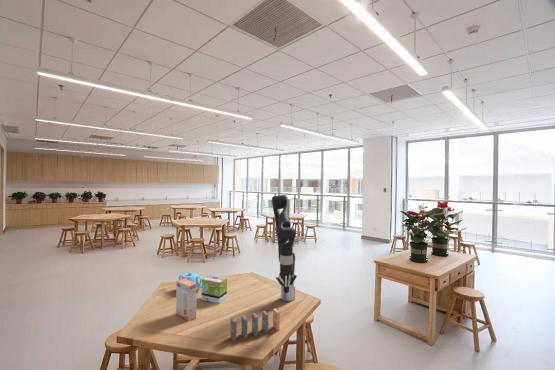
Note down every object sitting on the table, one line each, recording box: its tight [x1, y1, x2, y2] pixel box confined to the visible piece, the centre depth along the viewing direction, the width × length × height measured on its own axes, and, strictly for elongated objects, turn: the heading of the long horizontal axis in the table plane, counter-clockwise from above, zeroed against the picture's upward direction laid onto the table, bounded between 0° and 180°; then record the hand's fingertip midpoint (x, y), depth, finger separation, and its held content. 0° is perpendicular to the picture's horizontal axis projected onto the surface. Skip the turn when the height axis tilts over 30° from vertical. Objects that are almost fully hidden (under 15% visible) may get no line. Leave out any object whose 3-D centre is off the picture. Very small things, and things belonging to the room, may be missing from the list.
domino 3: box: [251, 312, 259, 337], centre depth 145 cm, size 2×5×10 cm, turn 26°
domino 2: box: [240, 314, 248, 340], centre depth 142 cm, size 2×5×10 cm, turn 26°
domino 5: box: [272, 308, 281, 331], centre depth 150 cm, size 2×5×10 cm, turn 26°
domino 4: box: [261, 310, 269, 334], centre depth 148 cm, size 2×5×10 cm, turn 26°
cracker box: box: [175, 279, 198, 322], centre depth 164 cm, size 14×6×21 cm, turn 49°
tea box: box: [201, 275, 228, 304], centre depth 188 cm, size 15×10×15 cm, turn 68°
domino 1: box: [230, 317, 237, 343], centre depth 140 cm, size 2×5×10 cm, turn 26°
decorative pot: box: [178, 271, 203, 291], centre depth 204 cm, size 16×16×14 cm
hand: (286, 292), depth 153 cm, fingers closed
